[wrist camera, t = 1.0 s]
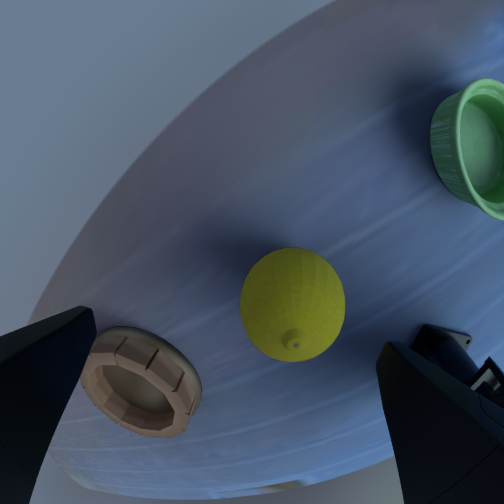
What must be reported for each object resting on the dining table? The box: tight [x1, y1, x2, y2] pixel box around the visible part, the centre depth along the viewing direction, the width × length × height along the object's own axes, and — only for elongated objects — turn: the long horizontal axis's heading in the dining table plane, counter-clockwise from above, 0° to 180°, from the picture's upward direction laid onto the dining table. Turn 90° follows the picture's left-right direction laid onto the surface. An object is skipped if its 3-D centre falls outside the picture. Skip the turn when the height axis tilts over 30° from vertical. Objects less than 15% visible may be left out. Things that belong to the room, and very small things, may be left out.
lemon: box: [240, 248, 345, 362], centre depth 15 cm, size 6×6×8 cm
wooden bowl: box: [80, 327, 202, 438], centre depth 21 cm, size 11×11×3 cm
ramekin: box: [430, 78, 504, 220], centre depth 13 cm, size 9×9×4 cm
